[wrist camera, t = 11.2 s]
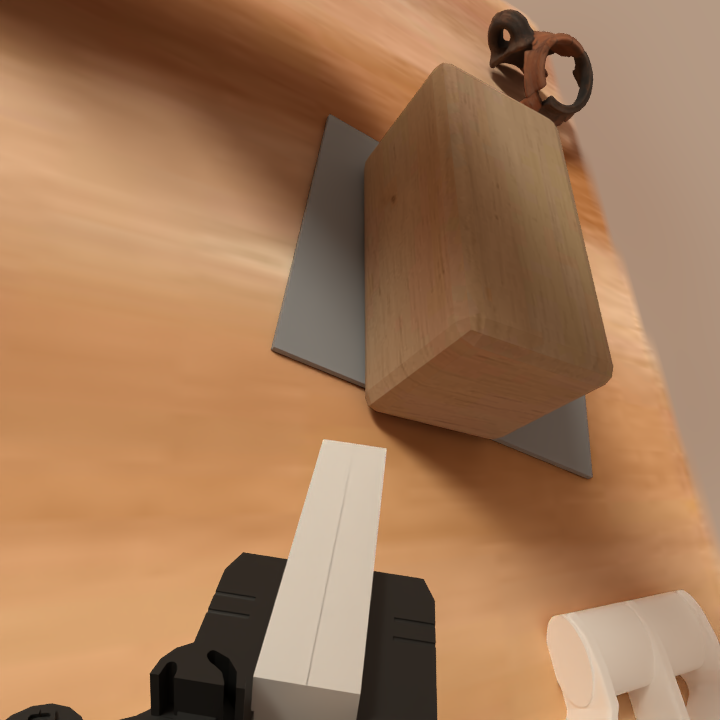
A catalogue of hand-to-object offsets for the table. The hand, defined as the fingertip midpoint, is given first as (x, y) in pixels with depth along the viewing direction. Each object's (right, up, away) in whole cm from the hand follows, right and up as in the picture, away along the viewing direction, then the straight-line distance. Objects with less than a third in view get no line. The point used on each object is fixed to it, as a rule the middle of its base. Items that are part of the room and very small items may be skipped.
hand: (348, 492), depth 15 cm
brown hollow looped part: (+15, +30, +48) cm, 59 cm away
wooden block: (+7, +1, +18) cm, 20 cm away
